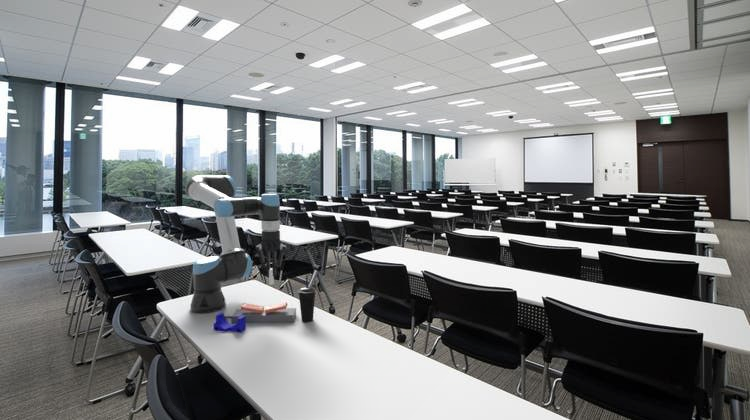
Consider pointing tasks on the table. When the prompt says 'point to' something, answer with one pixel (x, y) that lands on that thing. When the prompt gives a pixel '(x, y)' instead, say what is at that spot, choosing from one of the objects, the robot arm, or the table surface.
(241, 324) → the cable clip
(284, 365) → the table surface
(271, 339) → the table surface
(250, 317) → the power strip
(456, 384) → the table surface
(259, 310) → the rocker
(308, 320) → the drinking cup
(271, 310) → the rocker
